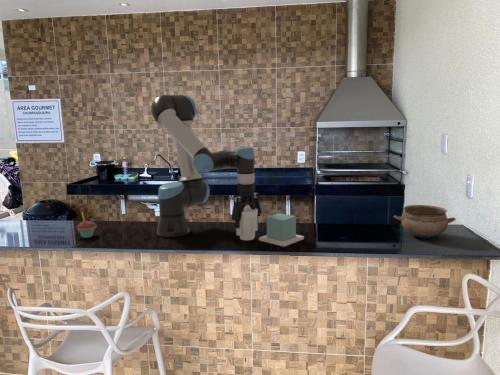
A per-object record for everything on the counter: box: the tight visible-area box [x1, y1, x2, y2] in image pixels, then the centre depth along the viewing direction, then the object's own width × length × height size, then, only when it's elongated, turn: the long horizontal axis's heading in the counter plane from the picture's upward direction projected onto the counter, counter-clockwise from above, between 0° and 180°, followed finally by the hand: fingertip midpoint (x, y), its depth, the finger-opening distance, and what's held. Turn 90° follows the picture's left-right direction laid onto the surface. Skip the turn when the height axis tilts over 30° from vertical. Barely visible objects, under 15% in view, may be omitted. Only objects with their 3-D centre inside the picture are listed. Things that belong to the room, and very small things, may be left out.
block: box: [266, 212, 297, 241], centre depth 176 cm, size 9×9×9 cm
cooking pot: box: [393, 204, 457, 240], centre depth 176 cm, size 25×19×12 cm
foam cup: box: [239, 206, 259, 241], centre depth 179 cm, size 10×9×13 cm
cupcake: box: [76, 212, 98, 239], centre depth 187 cm, size 9×8×12 cm
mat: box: [258, 234, 305, 248], centre depth 177 cm, size 14×14×1 cm
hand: (247, 232), depth 179 cm, fingers closed on foam cup, 9 cm apart
